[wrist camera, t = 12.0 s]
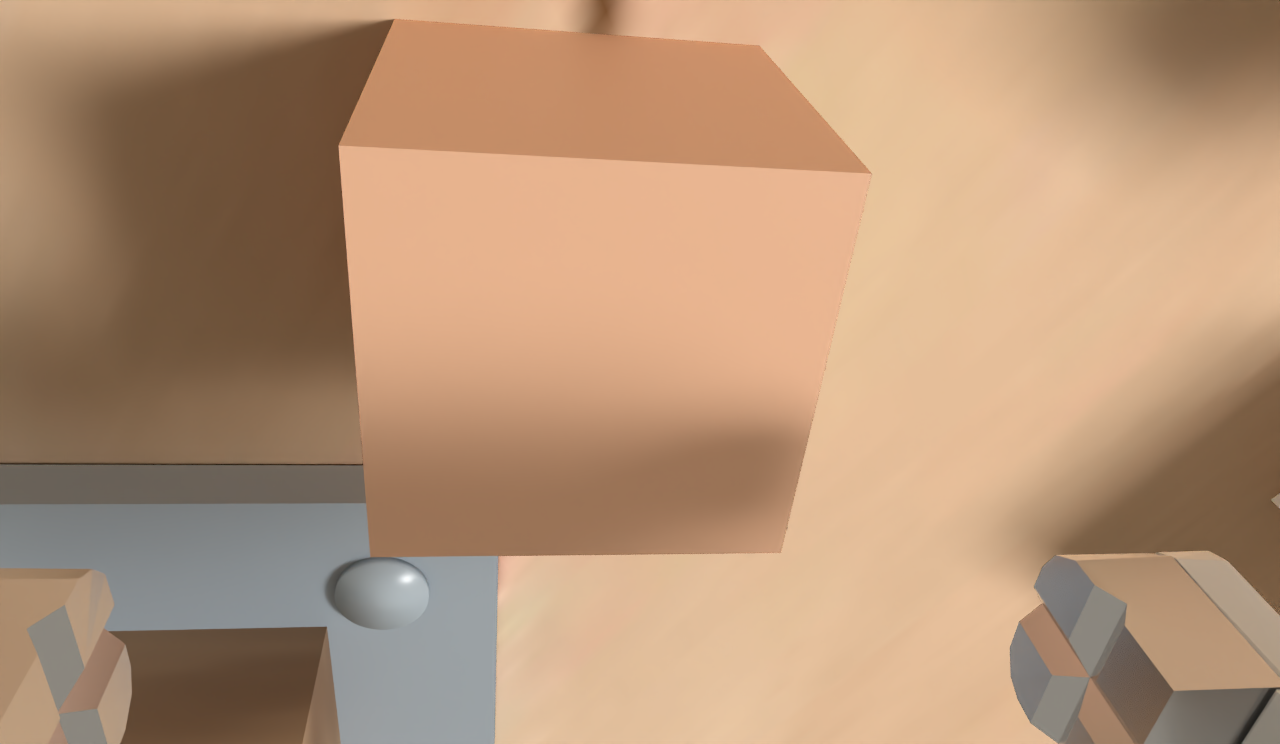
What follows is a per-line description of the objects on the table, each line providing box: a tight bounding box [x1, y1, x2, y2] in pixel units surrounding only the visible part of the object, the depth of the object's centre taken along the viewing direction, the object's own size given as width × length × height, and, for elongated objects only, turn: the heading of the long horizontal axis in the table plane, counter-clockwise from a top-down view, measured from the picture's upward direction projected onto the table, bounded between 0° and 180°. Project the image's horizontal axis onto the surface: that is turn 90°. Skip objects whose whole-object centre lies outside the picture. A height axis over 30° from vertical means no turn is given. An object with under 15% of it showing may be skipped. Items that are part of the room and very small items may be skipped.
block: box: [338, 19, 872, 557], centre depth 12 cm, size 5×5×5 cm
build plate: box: [0, 464, 498, 744], centre depth 18 cm, size 12×12×1 cm
